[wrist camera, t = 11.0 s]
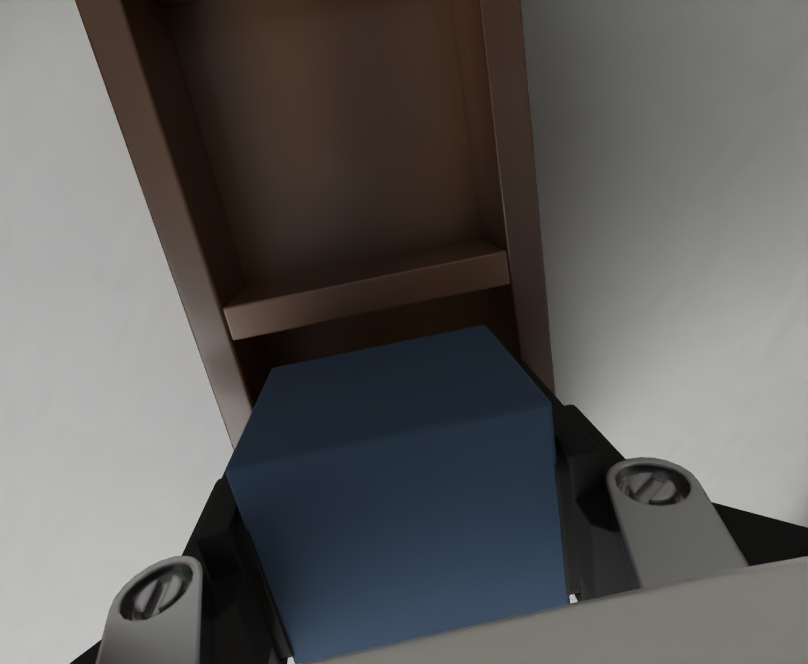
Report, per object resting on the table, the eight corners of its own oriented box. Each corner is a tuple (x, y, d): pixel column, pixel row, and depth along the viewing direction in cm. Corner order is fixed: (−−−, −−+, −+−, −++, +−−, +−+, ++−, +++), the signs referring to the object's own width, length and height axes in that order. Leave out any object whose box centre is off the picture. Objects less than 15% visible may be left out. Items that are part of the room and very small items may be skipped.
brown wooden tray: (467, -79, 11) (506, -172, 8) (529, 464, 16) (567, 529, 13) (127, -17, 11) (42, -89, 8) (296, 514, 16) (282, 591, 13)
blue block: (485, 322, 11) (553, 401, 7) (509, 500, 12) (574, 641, 9) (271, 367, 11) (222, 470, 7) (323, 540, 12) (307, 701, 9)
